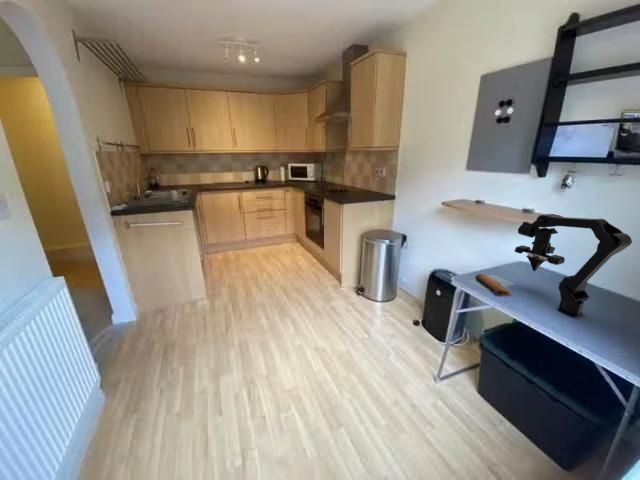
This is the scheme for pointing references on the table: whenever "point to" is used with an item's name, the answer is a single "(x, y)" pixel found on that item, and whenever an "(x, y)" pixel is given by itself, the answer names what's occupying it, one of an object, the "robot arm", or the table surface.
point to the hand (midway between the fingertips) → (534, 270)
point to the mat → (500, 280)
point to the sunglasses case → (493, 285)
